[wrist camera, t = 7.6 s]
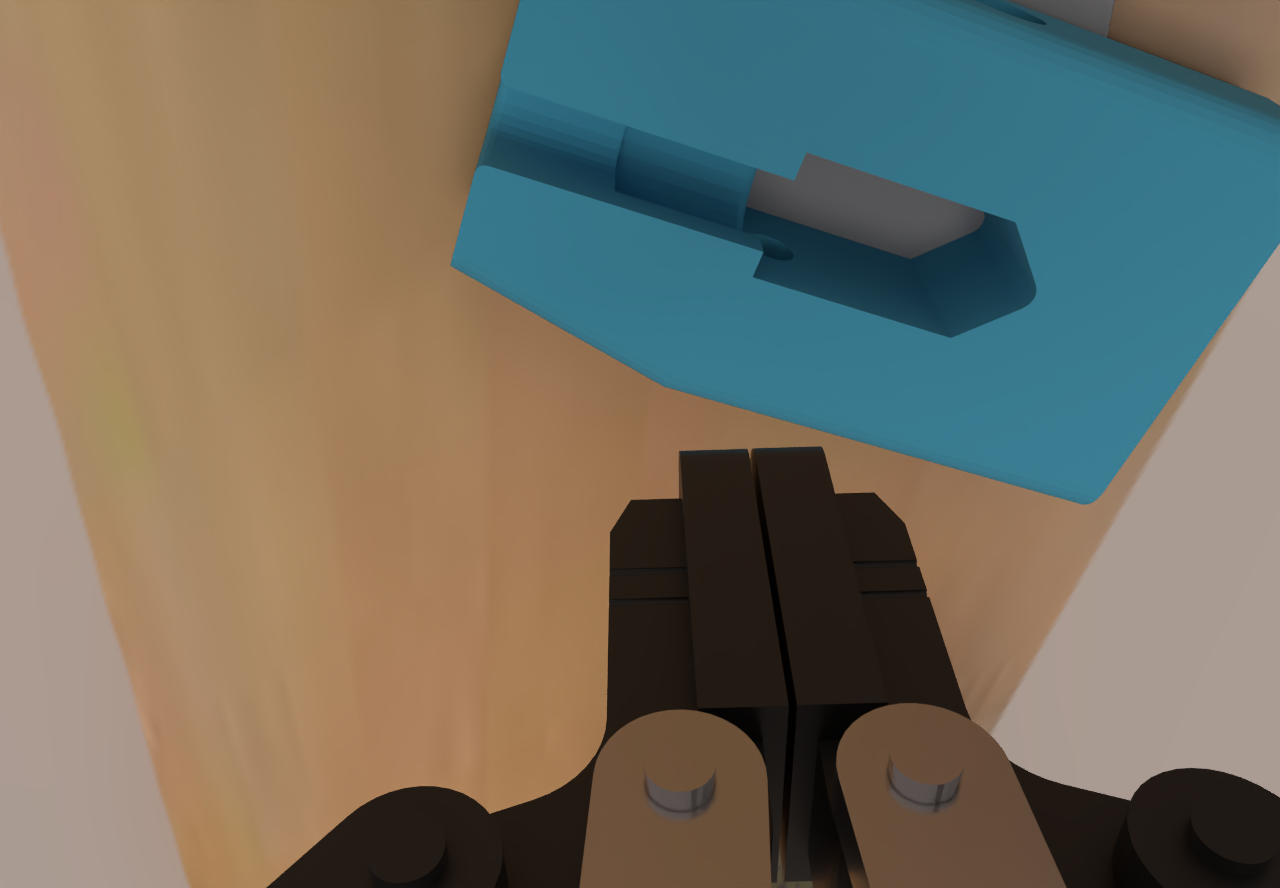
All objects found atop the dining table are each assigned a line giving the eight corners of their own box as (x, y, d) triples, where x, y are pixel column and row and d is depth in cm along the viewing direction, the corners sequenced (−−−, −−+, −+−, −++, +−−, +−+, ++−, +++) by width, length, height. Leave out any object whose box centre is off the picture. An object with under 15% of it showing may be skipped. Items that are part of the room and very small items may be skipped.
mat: (512, -346, 26) (510, -346, 25) (1179, -369, 26) (1189, -369, 25) (559, 280, 35) (558, 287, 34) (1054, 264, 35) (1059, 271, 34)
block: (454, 255, 34) (1033, 426, 38) (432, 335, 30) (1085, 517, 33) (567, -171, 27) (1250, 87, 31) (558, -146, 23) (1346, 148, 27)
